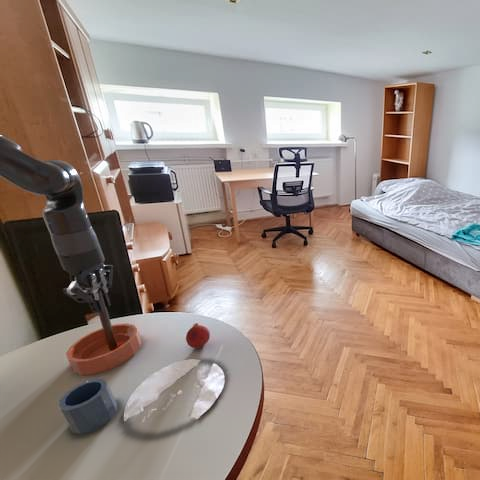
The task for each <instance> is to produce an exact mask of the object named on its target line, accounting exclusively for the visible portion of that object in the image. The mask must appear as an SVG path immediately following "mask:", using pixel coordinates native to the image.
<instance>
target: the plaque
mask: <svg viewBox="0 0 480 480" xmlns="http://www.w3.org/2000/svg"><path fill="white" fill-rule="evenodd" d="M200 362H202V361H201V359H194V358H191V359H190V358H189V359H184V360H179V361H176V362H173V363H171V364H168V365H166V366H164V367H161V368H160V369H158V370H157V371H155V372H154V373H152V374H151V375H149V376H148V377H147V378H146V379H144V380H143V381H142V382H141V383H140V384H139V385H138V386H137V388H135V390H134V391H133V392H132V394H131V395H130V396H129V398H128V400H127V403H126V405H125V407H124V412H123V422H126V421H127V420H128V419H130V418H133V416H138V415H139V414H140V413H142V412H144V411H145V410H144V408H145V407H148V406H149V405H151V404H152V403H154V402H155V401H156V400H158V399H159V397H160V395H161V394H162V392H163V391H165V390H166V389H168V388H169V387H172V386H173V385H174V383H176V381H177V380H178V379H180V378H181V377H183V376H186V374H187V373H188V372H190V371H191V370H192V369H194V368H195V367H197V366H198V364H199V363H200ZM209 368H210V369H209ZM206 372H208V373H207V376H206V374H205V373H206ZM195 378H196V379H197V381H198V384H199V385H196V382H194V384H193V386H194V387H193V388H192V390H193V391H196V389H198V388H200V387H201V389H200V390H199V393H198V395H197V397H196V399H195V400H194V401H195V402H194V403H193V405H192V407H191V410H190V412H189V414H188V416H187V417H188V418H194V419H196V420H199V419H200V418H201V417H202V415H204V414H205V413H206V412H207V411H208V410H209V409H210V408H211V407H212V406H213V405H214V404H215V402H216V400H217V399H218V398H219V396H220V395H221V394H222V391H223V389H224V386H225V383H226V381H225V378H226V377H225V373H224V371H223V369H222V368H221V367H220V366H219V365H218V364H217V363H214V362H213V363H212V365H211V367H209V364H208V363H207V364H206V365H203V366H201V367H200V368H198V369H197V370H196V376H195ZM195 388H196V389H195ZM181 394H182V389H179V390H178V391H177V393H173V392H171V393H170V394H169V398H170V400H169V401H168V403H167V404H166V407H165V406H164V407H163V408H162V410H163V411H165V410H166V409H167V408H168V407H169V406H171V404H172V402H174V400H175V398H176V396H177V395H179V396H180V395H181ZM189 405H190V404H187V406H189ZM157 409H158V408H157V407H156V408H151V409H150V411H147V415H146V416H145V415H144V416H142V420H141V422H142V423H145V422H146V418H149V416H150V415H151V414H153V412H154V411H155V412H156V411H157Z"/></svg>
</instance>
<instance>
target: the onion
mask: <svg viewBox="0 0 480 480" xmlns="http://www.w3.org/2000/svg"><path fill="white" fill-rule="evenodd" d="M185 335H186V336H185V341H186V343H187V345H188V346H189V347H190V348H192V349H200V348H202V347H204V346H205V345H206V344H207V343H208V342H209V340H210V336H211V332H210V330H209V328H207V327H206V326H204V325H201V324H199V323H198V322H195V323H193V325H192V327H190V328H189V330H188V331H187V333H186V334H185Z"/></svg>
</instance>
